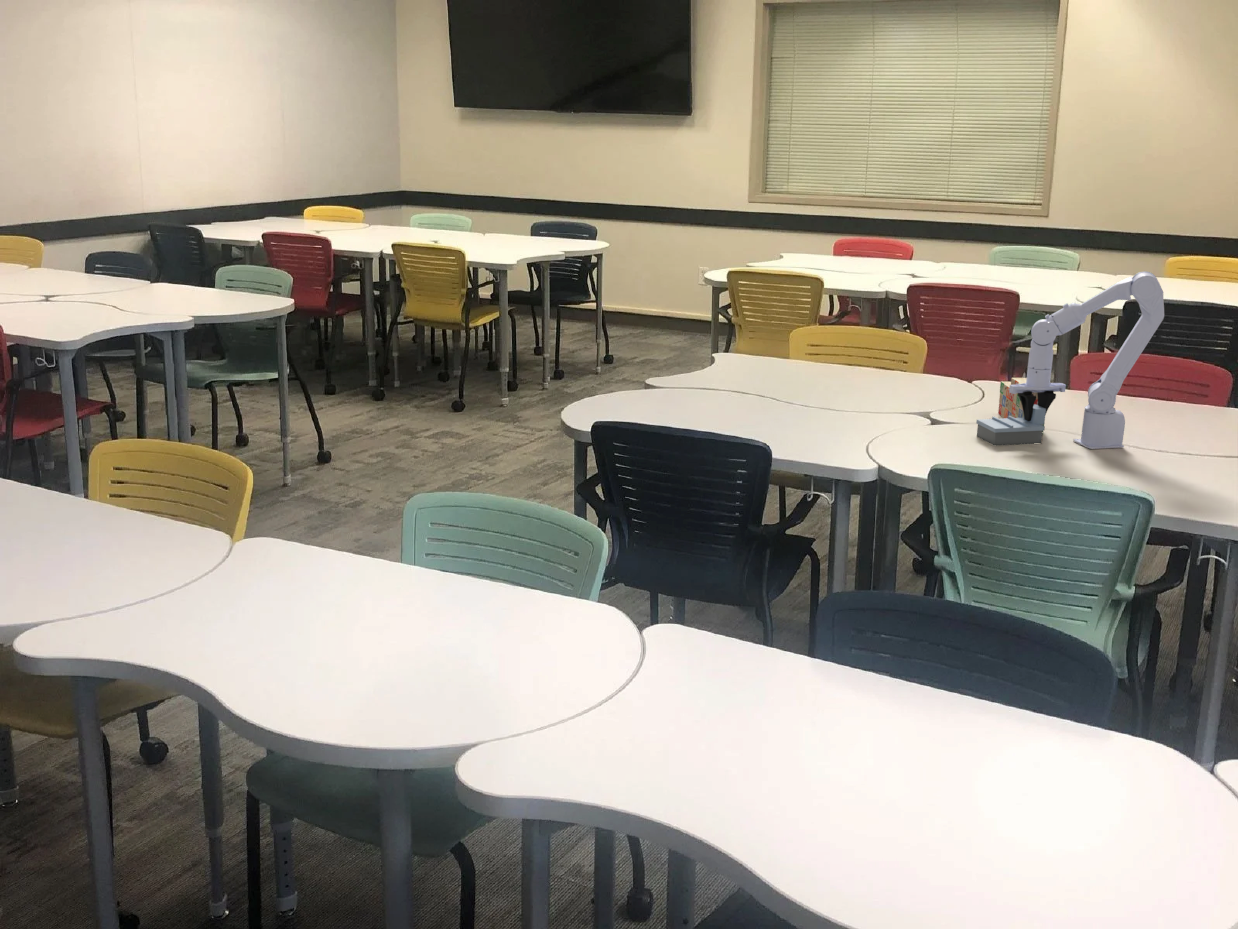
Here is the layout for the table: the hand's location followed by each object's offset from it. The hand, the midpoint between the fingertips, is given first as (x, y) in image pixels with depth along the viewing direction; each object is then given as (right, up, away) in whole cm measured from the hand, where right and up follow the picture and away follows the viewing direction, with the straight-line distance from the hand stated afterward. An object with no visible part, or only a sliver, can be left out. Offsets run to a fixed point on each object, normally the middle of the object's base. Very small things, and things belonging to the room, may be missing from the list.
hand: (1033, 420), depth 305 cm
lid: (-6, -2, -1) cm, 7 cm away
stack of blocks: (+2, 0, +18) cm, 18 cm away
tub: (-6, -5, 0) cm, 8 cm away
